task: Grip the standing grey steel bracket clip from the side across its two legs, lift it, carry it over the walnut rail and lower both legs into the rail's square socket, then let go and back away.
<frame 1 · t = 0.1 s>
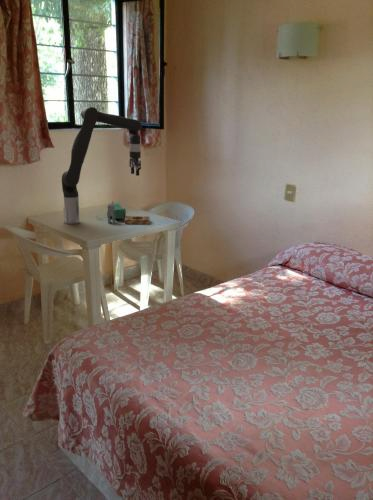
hand: (135, 174, 297), 29 cm above the table, tool pointing down, fingers open, 8 cm apart
toy: (115, 216, 304), on the table
clip: (111, 222, 286), on the table
rail: (137, 222, 289), on the table
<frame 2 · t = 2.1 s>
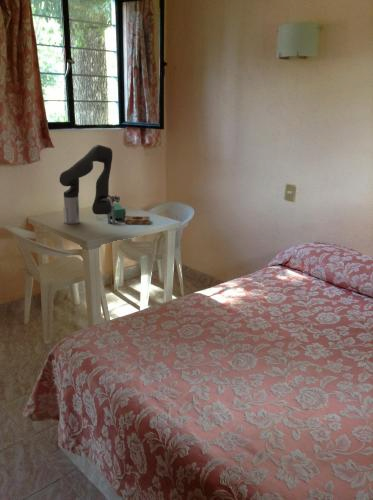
hand: (108, 196, 270), 20 cm above the table, tool horizontal, fingers open, 8 cm apart
nothing on the table moved.
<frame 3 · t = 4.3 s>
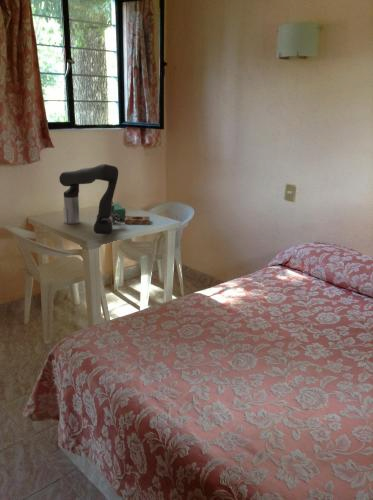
hand: (110, 214, 278), 7 cm above the table, tool horizontal, fingers open, 8 cm apart
nothing on the table moved.
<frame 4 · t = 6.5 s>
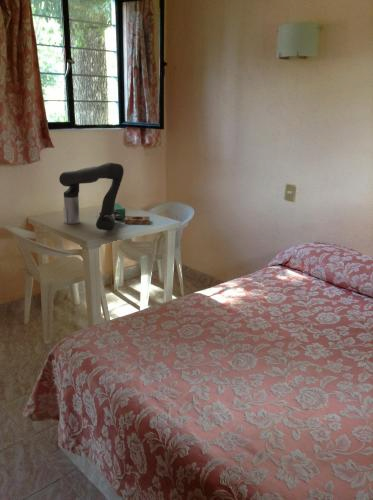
hand: (111, 211, 287), 7 cm above the table, tool horizontal, fingers closed on clip, 4 cm apart
clip: (111, 222, 286), on the table, touching gripper
everything else where it was.
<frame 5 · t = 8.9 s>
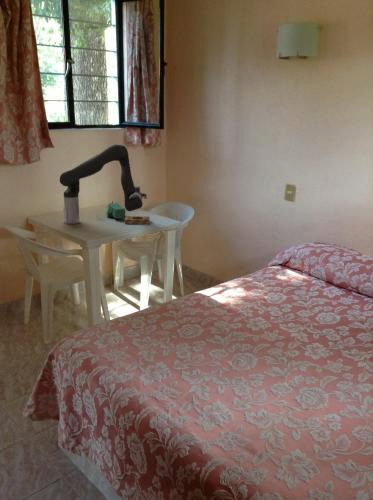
hand: (137, 193, 286), 19 cm above the table, tool horizontal, fingers closed on clip, 4 cm apart
clip: (137, 205, 285), point 12 cm above the table, touching gripper
when the fingers open (9 cm above the table, at t = 11.6 s): clip drops 1 cm, resting on rail.
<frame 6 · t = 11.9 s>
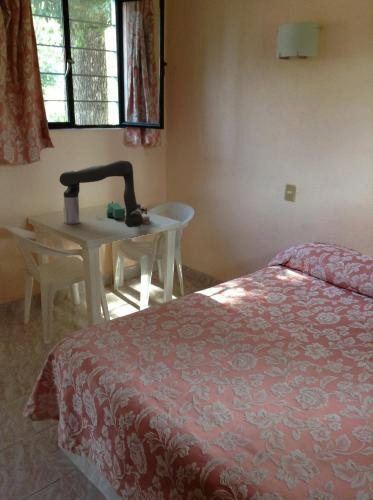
hand: (137, 208, 289), 9 cm above the table, tool horizontal, fingers open, 6 cm apart
clip: (137, 221, 289), resting on rail
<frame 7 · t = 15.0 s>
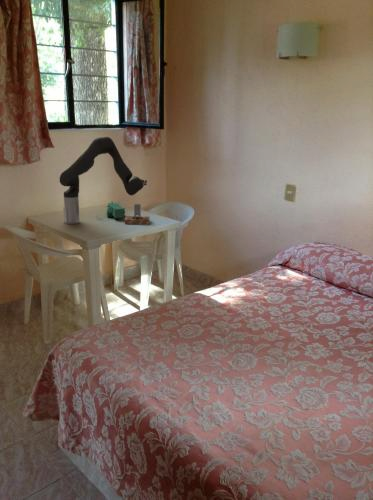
hand: (135, 180, 271), 30 cm above the table, tool horizontal, fingers open, 8 cm apart
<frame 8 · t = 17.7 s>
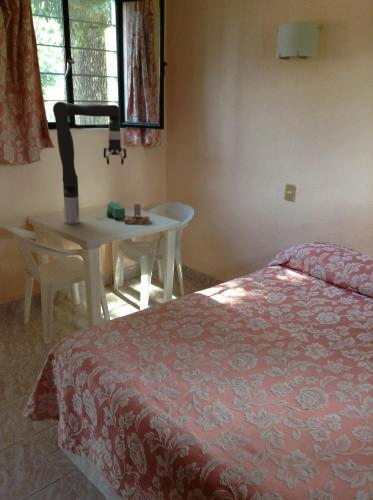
hand: (115, 164, 275), 38 cm above the table, tool pointing down, fingers open, 8 cm apart
at the end: clip 0.1 cm from the rail (horizontally); clip resting on rail; clip tilted 0° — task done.
